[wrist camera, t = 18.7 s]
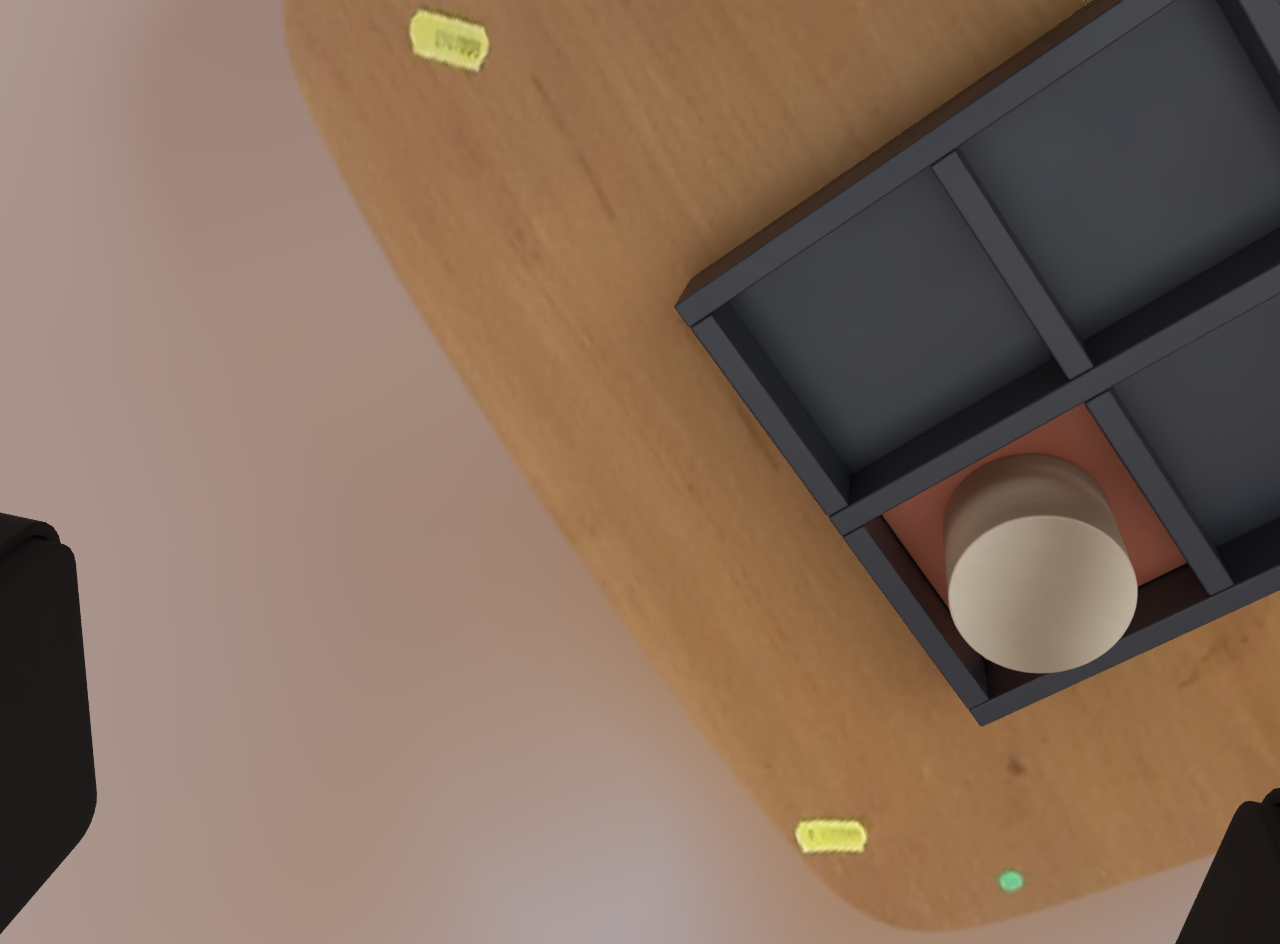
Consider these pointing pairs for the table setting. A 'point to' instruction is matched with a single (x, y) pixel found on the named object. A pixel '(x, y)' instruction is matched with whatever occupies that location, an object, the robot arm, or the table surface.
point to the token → (1036, 565)
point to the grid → (1041, 319)
